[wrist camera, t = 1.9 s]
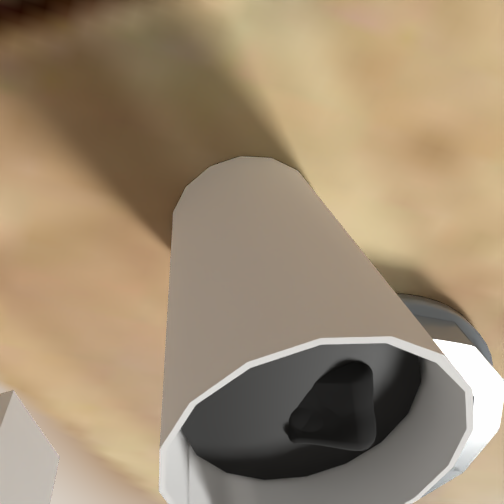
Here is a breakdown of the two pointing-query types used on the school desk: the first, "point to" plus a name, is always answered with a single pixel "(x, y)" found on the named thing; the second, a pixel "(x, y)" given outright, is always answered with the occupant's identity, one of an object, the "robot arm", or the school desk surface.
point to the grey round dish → (464, 372)
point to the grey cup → (294, 357)
